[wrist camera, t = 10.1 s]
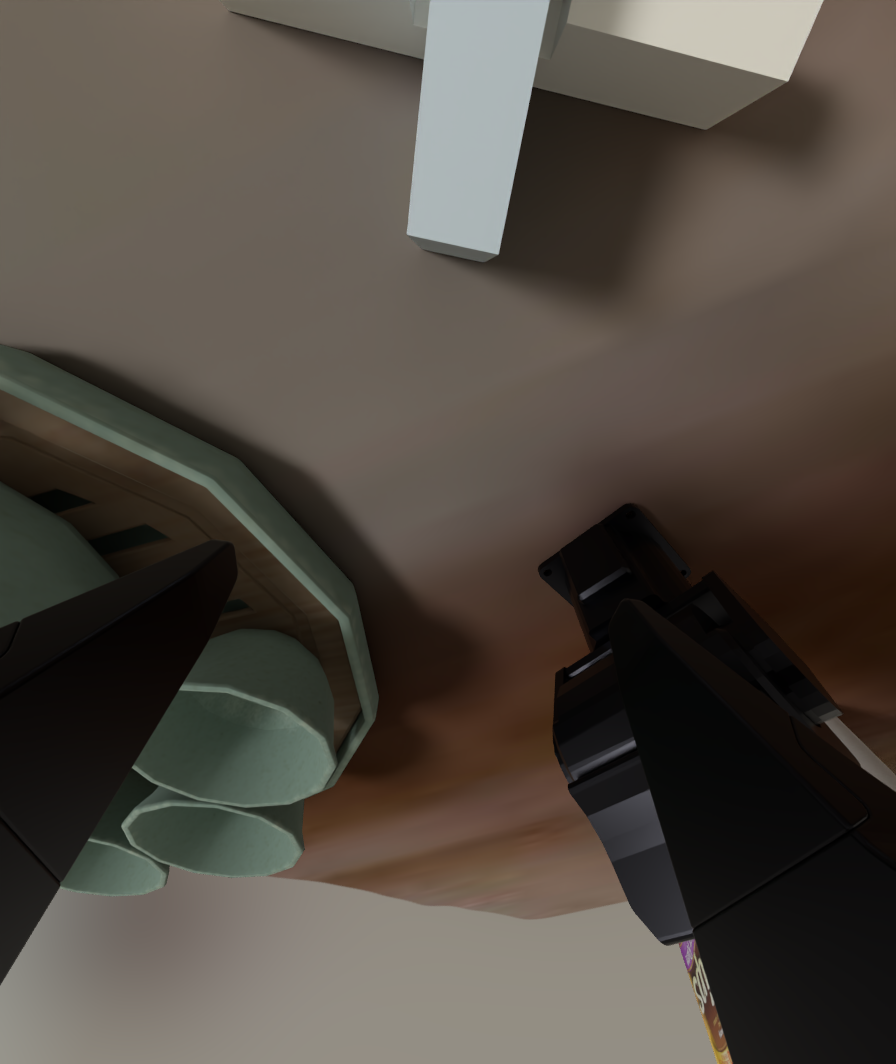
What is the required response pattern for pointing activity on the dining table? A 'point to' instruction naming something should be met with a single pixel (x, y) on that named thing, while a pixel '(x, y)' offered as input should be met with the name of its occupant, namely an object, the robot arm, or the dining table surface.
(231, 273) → the dining table surface
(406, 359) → the dining table surface
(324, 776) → the tea set
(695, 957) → the candy box
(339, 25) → the slotted rib
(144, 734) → the robot arm
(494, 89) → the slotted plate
